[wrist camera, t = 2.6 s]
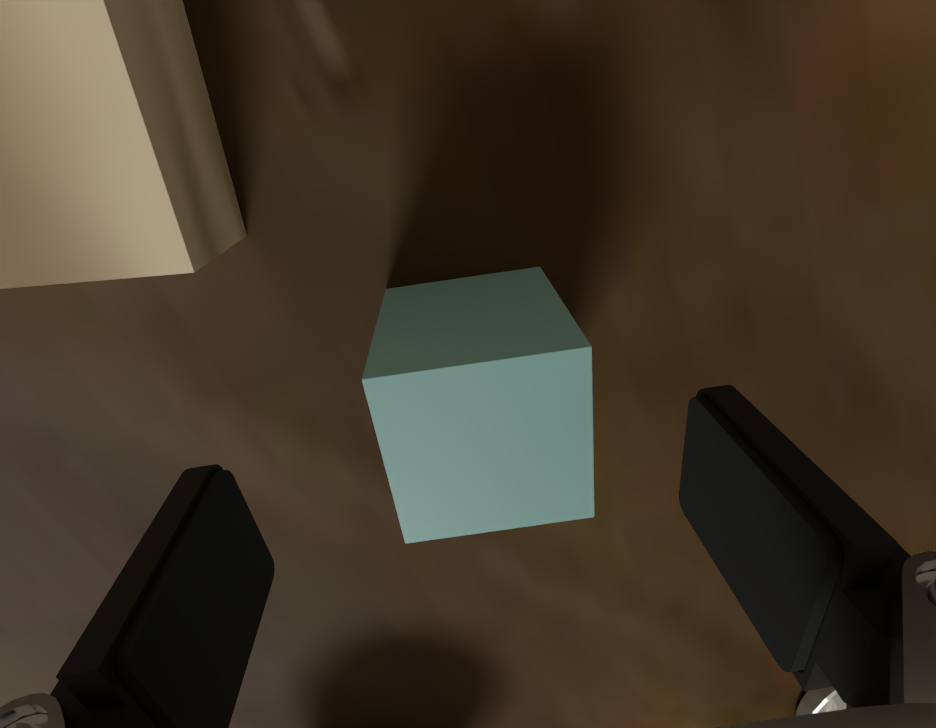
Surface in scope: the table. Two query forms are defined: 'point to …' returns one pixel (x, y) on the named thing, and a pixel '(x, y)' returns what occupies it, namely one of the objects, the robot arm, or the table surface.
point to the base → (107, 145)
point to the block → (482, 405)
